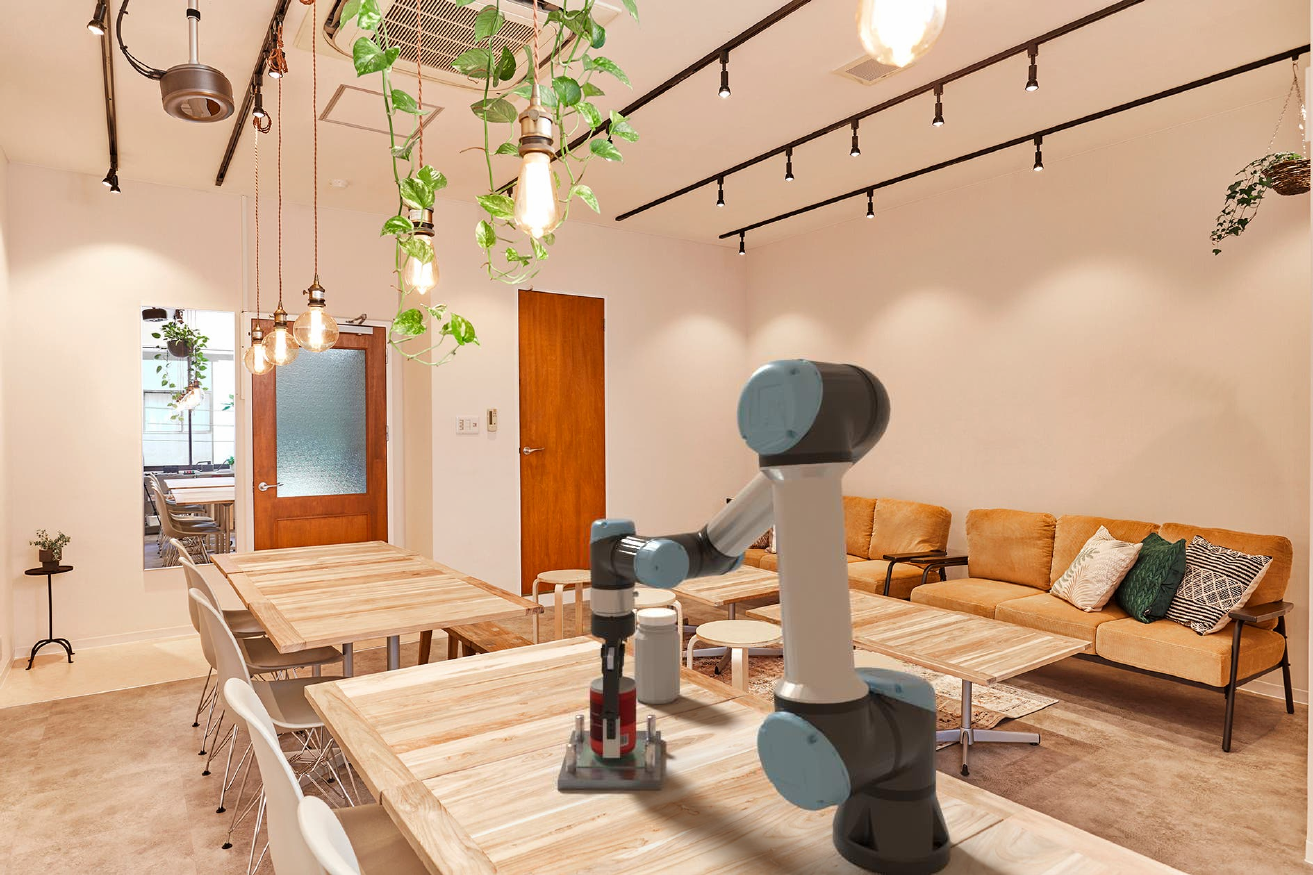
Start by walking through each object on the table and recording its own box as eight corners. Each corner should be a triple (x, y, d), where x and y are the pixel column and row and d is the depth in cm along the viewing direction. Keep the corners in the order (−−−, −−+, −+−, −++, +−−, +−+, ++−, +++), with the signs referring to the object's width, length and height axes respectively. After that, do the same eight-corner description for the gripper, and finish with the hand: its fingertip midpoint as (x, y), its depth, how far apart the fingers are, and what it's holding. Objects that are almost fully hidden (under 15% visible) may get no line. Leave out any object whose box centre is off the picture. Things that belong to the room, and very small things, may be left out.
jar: (626, 693, 165) (626, 609, 165) (668, 687, 169) (668, 605, 168) (644, 708, 156) (643, 619, 156) (687, 701, 160) (687, 614, 160)
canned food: (643, 742, 132) (643, 678, 132) (622, 760, 125) (622, 692, 125) (604, 735, 135) (604, 672, 135) (581, 752, 128) (581, 686, 128)
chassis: (660, 789, 120) (660, 754, 120) (557, 789, 120) (557, 754, 120) (660, 738, 140) (660, 708, 140) (572, 738, 140) (572, 708, 140)
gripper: (632, 626, 120) (633, 773, 120) (637, 598, 140) (637, 723, 140) (584, 626, 120) (584, 773, 120) (596, 598, 140) (596, 723, 141)
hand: (613, 746), depth 130 cm, fingers closed on canned food, 8 cm apart
